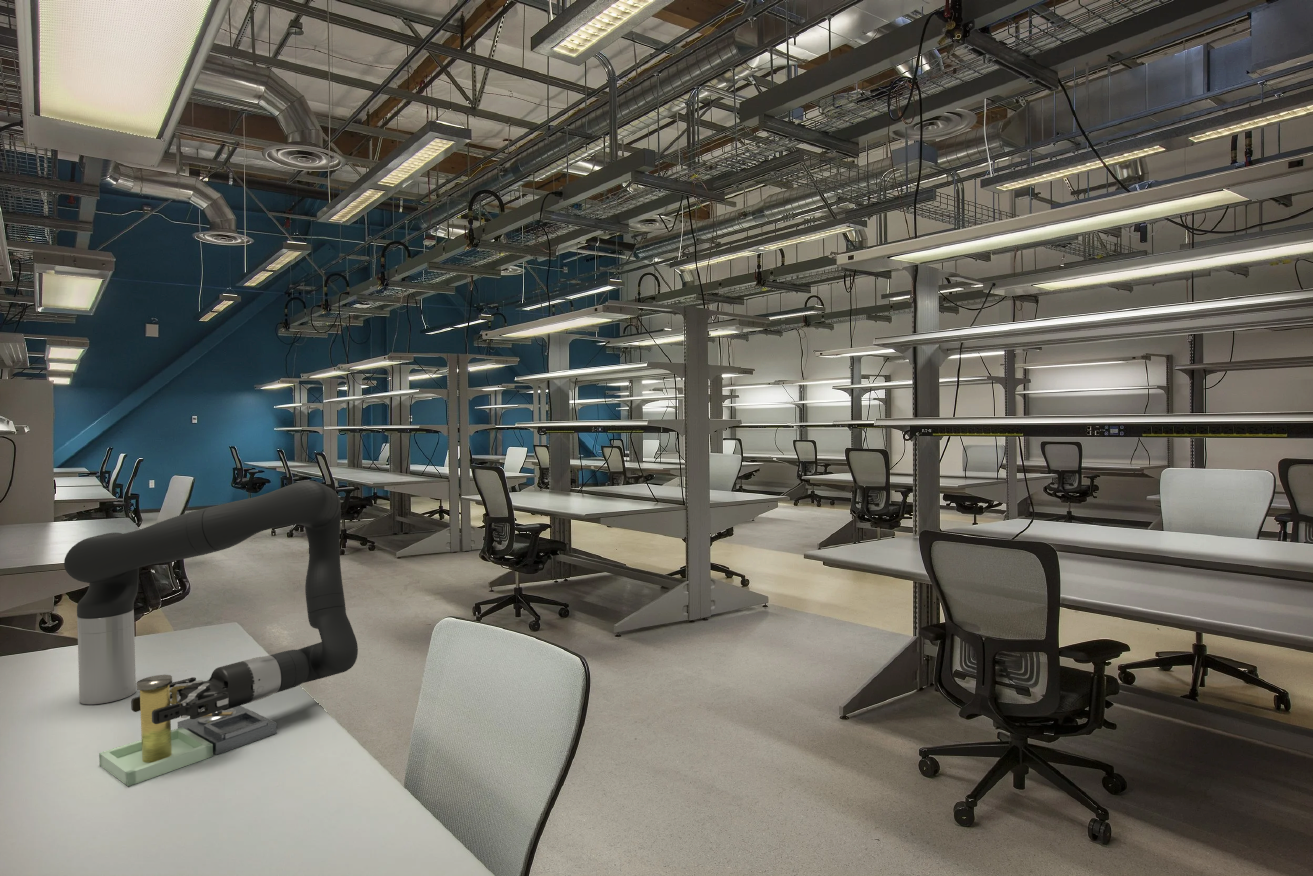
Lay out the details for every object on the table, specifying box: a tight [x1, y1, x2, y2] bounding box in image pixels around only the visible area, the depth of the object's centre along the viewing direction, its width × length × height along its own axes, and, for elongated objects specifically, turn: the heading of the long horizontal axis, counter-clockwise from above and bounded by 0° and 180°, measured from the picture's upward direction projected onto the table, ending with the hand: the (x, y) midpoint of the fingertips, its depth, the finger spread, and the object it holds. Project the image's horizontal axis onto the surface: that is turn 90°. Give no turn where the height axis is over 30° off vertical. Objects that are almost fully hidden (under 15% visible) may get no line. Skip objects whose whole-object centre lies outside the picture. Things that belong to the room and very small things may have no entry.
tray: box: [98, 727, 214, 787], centre depth 118 cm, size 12×12×2 cm
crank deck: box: [177, 705, 277, 756], centre depth 128 cm, size 15×10×3 cm, turn 55°
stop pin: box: [136, 674, 173, 763], centre depth 118 cm, size 5×5×13 cm
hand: (142, 711), depth 116 cm, fingers open, 8 cm apart
